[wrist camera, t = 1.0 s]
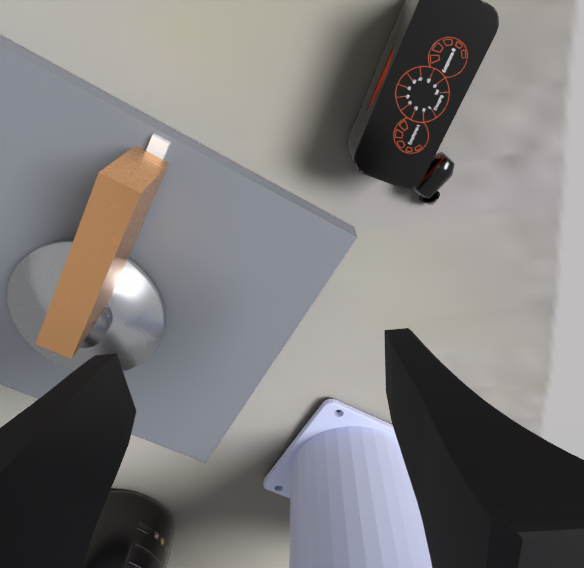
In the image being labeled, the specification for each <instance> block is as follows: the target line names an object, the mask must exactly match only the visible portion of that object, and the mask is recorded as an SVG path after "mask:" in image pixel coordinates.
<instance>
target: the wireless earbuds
mask: <svg viewBox="0 0 584 568" xmlns="http://www.w3.org/2000/svg"><path fill="white" fill-rule="evenodd" d="M498 26H499V17H498V13H497V11H496V10H495V8H494V7H492V6H491V5H490V4H488V3H485V2H483V1H481V0H405V1H404V3H403V5H402V7H401V10H400V12H399V15H398V17H397V19H396V22H395V24H394V27H393V29H392V32H391V34H390V37H389V39H388V42H387V44H386V46H385V49H384V51H383V54H382V56H381V59H380V61H379V64H378V66H377V68H376V71H375V73H374V76H373V78H372V81H371V83H370V86H369V88H368V91H367V93H366V95H365V98H364V100H363V103H362V105H361V108H360V110H359V113H358V115H357V117H356V120H355V122H354V125H353V127H352V130H351V132H350V135H349V137H348V141H347V145H348V149H349V152H350V154H351V156H352V159H353V161H354V163H355V166H356V168H357V169H358V170H359V171H360V172H362V173H363V174H366V175H368V176H371V177H374V178H376V179H379V180H382V181H384V182H387V183H390V184H393V185H395V186H398V187H401V188H413V190H414V191H415V193H417V194H418V195H420V197H419V199H420V201H422V202H424V203H426V204H429V205H433V204H434V203H435V202H436V201H437V200H438V198H439V196H440V193H439V192H438V191H437V190H438V189H439V188H440V187H441V186H442V185H443V184H444V183H445V182H446V181H447V180H448V179H449V178H450V177H451V176H452V173H453V169H454V163H453V161H452V160H451V159H450V158H449V157H448V156H447V155H445V154H444V153H442V152H441V153H438V154H436V152H437V150H438V148H439V146H440V144H441V142H442V140H443V138H444V136H445V134H446V132H447V130H448V128H449V126H450V124H451V122H452V120H453V118H454V116H455V114H456V112H457V110H458V108H459V106H460V104H461V102H462V100H463V98H464V96H465V94H466V92H467V90H468V88H469V86H470V84H471V82H472V80H473V78H474V76H475V74H476V72H477V70H478V68H479V66H480V64H481V62H482V60H483V58H484V56H485V54H486V52H487V50H488V48H489V46H490V44H491V42H492V40H493V38H494V36H495V34H496V32H497V29H498Z"/></svg>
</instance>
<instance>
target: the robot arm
mask: <svg viewBox="0 0 584 568" xmlns="http://www.w3.org/2000/svg"><path fill="white" fill-rule="evenodd" d="M385 367H386V394H387V399H388V404H389V410H390V415H391V420H392V425H391V424H389V423H387V422H385V421H382V420H380V419H378V418H376V417H373V416H371V415H369V414H367V413H364V412H362V411H360V410H358V409H355V408H353V407H351V406H349V405H346V404H344V403H342V402H340V401H337V400H335V399H327V400H325V401H324V402H323V403H322V404H321V406H320V407H319V408H318V409H317V411H316V412H315V413H314V415H313V416H312V417H311V419H310V420H309V421H308V422H307V424H306V425H305V426H304V428H303V429H302V430H301V431H300V433H299V434H298V435H297V437H296V438H295V439H294V441H293V442H292V443H291V444H290V446H289V447H288V448H287V450H286V451H285V452H284V454H283V455H282V456H281V457H280V459H279V460H278V461H277V463H276V464H275V465H274V467H273V468H272V469H271V470H270V472H269V473H268V474H267V476H266V477H265V478H264V482H263V486H264V488H265V489H267V490H269V491H272V492H274V493H277V494H279V495H282V496H285V497H287V498H290V554H289V568H584V460H583V459H580V458H578V457H576V456H574V455H572V454H570V453H568V452H566V451H564V450H563V449H561V448H559V447H557V446H555V445H553V444H551V443H549V442H548V441H546V440H544V439H543V438H541V437H539V436H538V435H536V434H534V433H532V432H531V431H529V430H527V429H526V428H524V427H522V426H521V425H519V424H518V423H516V422H514V421H513V420H511V419H510V418H508V417H507V416H506V415H504V414H503V413H501V412H500V411H498V410H497V409H496V408H494V407H493V406H491V405H490V404H488V403H487V402H486V401H485V400H483V399H482V398H481V397H480V396H478V395H477V394H476V393H475V392H473V391H472V390H471V389H470V388H469V387H467V386H466V385H465V384H464V383H463V382H462V381H461V380H459V379H458V378H457V377H456V376H455V375H454V374H453V373H452V372H451V371H450V370H449V369H448V368H447V367H446V366H444V365H443V364H442V363H441V362H440V361H439V360H438V359H437V358H436V357H435V356H434V355H433V354H432V353H431V352H430V351H429V349H428V348H427V347H426V346H425V345H424V344H423V343H422V342H421V341H420V340H419V339H418V338H417V336H416V335H415V334H414V333H413V332H412V331H411V330H410V329H408V328H406V329H394V330H385ZM336 410H342V411H341V412H336ZM135 415H136V408H135V405H134V402H133V399H132V396H131V394H130V391H129V388H128V385H127V382H126V379H125V376H124V373H123V370H122V367H121V365H120V362H119V359H118V356H117V354H105V355H95V356H93V357H92V358H90V359H89V360H87V361H86V362H85V363H83V364H82V365H81V366H79V367H78V368H77V369H76V370H74V371H73V372H72V373H71V374H69V375H68V376H67V377H66V378H64V379H63V380H62V381H61V382H59V383H58V384H57V385H56V386H54V387H53V388H52V389H51V390H49V391H48V392H47V393H46V394H44V395H43V396H42V397H41V398H39V399H38V400H37V401H36V402H34V403H33V404H32V405H31V406H29V407H28V408H27V409H25V410H24V411H22V412H21V413H20V414H18V415H17V416H16V417H14V418H13V419H12V420H10V421H9V422H8V423H6V424H5V425H4V426H2V427H1V428H0V568H83V564H84V561H85V557H86V554H87V551H88V547H89V544H90V540H91V538H92V535H93V532H94V529H95V526H96V524H97V521H98V519H99V516H100V514H101V511H102V509H103V506H104V504H105V502H106V499H107V497H108V494H109V492H110V489H111V487H112V484H113V482H114V479H115V477H116V475H117V472H118V470H119V467H120V465H121V462H122V460H123V457H124V455H125V452H126V449H127V447H128V444H129V440H130V436H131V432H132V428H133V424H134V420H135Z"/></svg>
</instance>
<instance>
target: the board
mask: <svg viewBox="0 0 584 568" xmlns="http://www.w3.org/2000/svg"><path fill="white" fill-rule="evenodd" d="M135 145H136V146H138V147H140V148H142V149H144V150H146V151H147V152H149V153H151V154H153V155H155V156H157V157H159V158H161V159H163V160H165V161H167V162H168V163H169V166H168V168H167V170H166V173H165V175H164V177H163V179H162V182H161V184H160V186H159V189H158V191H157V193H156V195H155V198H154V200H153V202H152V205H151V207H150V209H149V212H148V214H147V216H146V218H145V221H144V223H143V225H142V228H141V230H140V232H139V234H138V237H137V239H136V241H135V244H134V246H133V248H132V251H131V253H130V255H129V256H130V257H131V258H133V259H134V260H135V261H136V262H137V263H139V264H140V265H141V266H142V267H143V268H144V269H145V270H146V271H147V272H148V273H149V275H150V276H151V277H152V279H153V280H154V281H155V283H156V285H157V287H158V288H159V290H160V293H161V295H162V298H163V301H164V305H165V313H166V320H165V327H164V331H163V334H162V336H161V339H160V341H159V343H158V345H157V347H156V348H155V350H154V352H153V353H152V354H151V355H150V356H149V357H148V358H147V359H146V360H145V361H143V362H142V363H141V364H139V365H137V366H136V367H134V368H131V369H129V370H126V371H123V373H124V376H125V379H126V382H127V385H128V388H129V391H130V394H131V396H132V399H133V402H134V405H135V408H136V415H135V420H134V424H133V428H132V432H131V434H132V435H135V436H137V437H140V438H142V439H145V440H148V441H150V442H153V443H155V444H158V445H161V446H163V447H166V448H168V449H171V450H174V451H176V452H179V453H181V454H184V455H187V456H189V457H192V458H195V459H197V460H200V461H202V462H205V463H206V462H207V460H208V459H209V457H210V456H211V454H212V453H213V451H214V450H215V448H216V447H217V445H218V444H219V442H220V441H221V439H222V438H223V436H224V435H225V433H226V432H227V430H228V429H229V427H230V426H231V425H232V423H233V422H234V420H235V419H236V417H237V416H238V414H239V413H240V411H241V410H242V408H243V407H244V405H245V404H246V402H247V401H248V399H249V398H250V396H251V395H252V393H253V392H254V390H255V389H256V387H257V386H258V384H259V383H260V381H261V380H262V378H263V377H264V375H265V374H266V372H267V371H268V369H269V368H270V366H271V365H272V363H273V362H274V360H275V359H276V357H277V356H278V354H279V353H280V351H281V350H282V348H283V347H284V345H285V344H286V343H287V341H288V340H289V338H290V337H291V335H292V334H293V332H294V331H295V329H296V328H297V326H298V325H299V323H300V322H301V320H302V319H303V317H304V316H305V314H306V313H307V311H308V310H309V308H310V307H311V305H312V304H313V302H314V301H315V299H316V298H317V296H318V295H319V293H320V292H321V290H322V289H323V287H324V286H325V284H326V283H327V281H328V280H329V278H330V277H331V275H332V274H333V272H334V271H335V269H336V268H337V266H338V265H339V263H340V262H341V260H342V259H343V258H344V256H345V255H346V253H347V252H348V250H349V249H350V247H351V246H352V244H353V243H354V241H355V240H356V238H357V235H356V232H355V228H354V227H353V226H351V225H349V224H347V223H346V222H344V221H342V220H340V219H338V218H336V217H335V216H333V215H331V214H329V213H327V212H325V211H324V210H322V209H320V208H318V207H316V206H314V205H313V204H311V203H309V202H307V201H305V200H303V199H301V198H300V197H298V196H296V195H294V194H292V193H290V192H289V191H287V190H285V189H283V188H281V187H279V186H278V185H276V184H274V183H272V182H270V181H268V180H267V179H265V178H263V177H261V176H259V175H257V174H256V173H254V172H252V171H250V170H248V169H246V168H244V167H243V166H241V165H239V164H237V163H235V162H233V161H232V160H230V159H228V158H226V157H224V156H222V155H221V154H219V153H217V152H215V151H213V150H211V149H210V148H208V147H206V146H204V145H202V144H200V143H198V142H197V141H195V140H193V139H191V138H189V137H187V136H186V135H184V134H182V133H180V132H178V131H176V130H175V129H173V128H171V127H169V126H167V125H165V124H164V123H162V122H160V121H158V120H156V119H154V118H152V117H151V116H149V115H147V114H145V113H143V112H141V111H140V110H138V109H136V108H134V107H132V106H130V105H129V104H127V103H125V102H123V101H121V100H119V99H118V98H116V97H114V96H112V95H110V94H108V93H107V92H105V91H103V90H101V89H99V88H97V87H95V86H94V85H92V84H90V83H88V82H86V81H84V80H83V79H81V78H79V77H77V76H75V75H73V74H72V73H70V72H68V71H66V70H64V69H62V68H61V67H59V66H57V65H55V64H53V63H51V62H49V61H48V60H46V59H44V58H42V57H40V56H38V55H37V54H35V53H33V52H31V51H29V50H27V49H26V48H24V47H22V46H20V45H18V44H16V43H15V42H13V41H11V40H9V39H7V38H5V37H3V36H2V35H0V384H1V385H4V386H7V387H9V388H12V389H14V390H17V391H20V392H22V393H25V394H27V395H30V396H33V397H35V398H38V399H39V398H41V397H42V396H43V395H44V394H46V393H47V392H48V391H49V390H51V389H52V388H53V387H54V386H56V385H57V384H58V383H59V382H61V381H62V380H63V379H64V378H66V377H67V376H68V375H69V374H71V373H72V372H73V370H71V369H68V368H65V367H62V366H60V365H58V364H56V363H54V362H52V361H51V360H49V359H47V358H45V357H44V356H43V355H41V354H40V353H38V352H37V351H36V350H35V349H34V348H33V347H32V346H30V344H29V343H28V342H27V341H26V340H25V339H24V338H23V336H22V335H21V334H20V332H19V331H18V329H17V328H16V326H15V324H14V322H13V320H12V318H11V315H10V312H9V308H8V302H7V288H8V284H9V280H10V277H11V275H12V273H13V271H14V270H15V268H16V266H17V265H18V264H19V263H20V262H21V261H22V260H23V259H24V258H25V257H26V256H27V255H29V254H30V253H31V252H32V251H34V250H35V249H37V248H38V247H40V246H42V245H44V244H47V243H50V242H53V241H57V240H62V239H74V238H75V235H76V233H77V230H78V227H79V224H80V222H81V219H82V216H83V214H84V211H85V208H86V205H87V203H88V200H89V197H90V195H91V192H92V189H93V187H94V184H95V181H96V178H97V176H98V173H99V172H100V171H101V170H102V169H104V168H105V167H107V166H108V165H109V164H111V163H112V162H113V161H115V160H116V159H118V158H119V157H120V156H122V155H123V154H124V153H126V152H127V151H129V150H130V149H131V148H133V147H134V146H135Z"/></svg>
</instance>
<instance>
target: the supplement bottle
mask: <svg viewBox="0 0 584 568" xmlns="http://www.w3.org/2000/svg"><path fill="white" fill-rule="evenodd" d="M173 534H174V529H173V523H172V520H171V518H170V516H169V514H168V513H167V511H166V510H165V509H164V508H163V507H162V506H161V505H160V504H159V503H157V502H156V501H154V500H153V499H151V498H149V497H147V496H145V495H142V494H139V493H135V492H131V491H124V490H110V492H109V494H108V497H107V499H106V502H105V504H104V506H103V509H102V511H101V514H100V516H99V519H98V521H97V524H96V526H95V529H94V532H93V535H92V538H91V540H90V544H89V547H88V551H87V554H86V557H85V561H84V564H83V568H167V564H168V559H169V555H170V550H171V545H172V540H173Z"/></svg>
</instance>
